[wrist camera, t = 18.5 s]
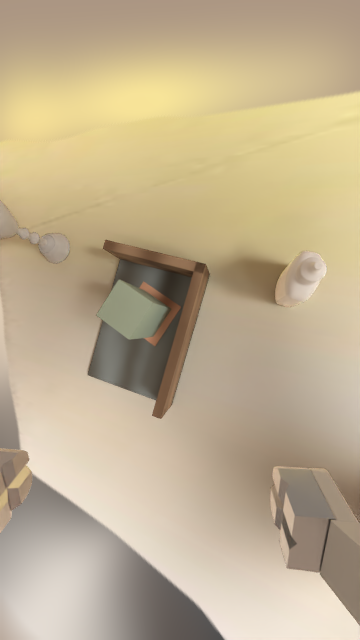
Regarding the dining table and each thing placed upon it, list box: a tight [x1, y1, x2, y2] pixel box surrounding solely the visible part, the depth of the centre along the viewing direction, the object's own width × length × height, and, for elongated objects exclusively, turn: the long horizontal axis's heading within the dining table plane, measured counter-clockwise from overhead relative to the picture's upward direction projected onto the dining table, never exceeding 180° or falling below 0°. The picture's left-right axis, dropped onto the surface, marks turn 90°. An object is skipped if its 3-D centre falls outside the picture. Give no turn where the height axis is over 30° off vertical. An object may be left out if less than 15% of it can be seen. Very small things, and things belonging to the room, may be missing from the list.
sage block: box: [97, 280, 171, 340], centre depth 33 cm, size 5×5×9 cm
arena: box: [88, 240, 210, 419], centre depth 36 cm, size 14×20×6 cm
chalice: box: [0, 200, 70, 263], centre depth 33 cm, size 7×7×18 cm
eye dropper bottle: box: [275, 251, 327, 307], centre depth 29 cm, size 4×6×12 cm
